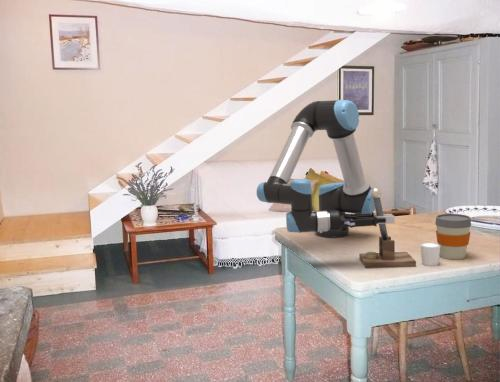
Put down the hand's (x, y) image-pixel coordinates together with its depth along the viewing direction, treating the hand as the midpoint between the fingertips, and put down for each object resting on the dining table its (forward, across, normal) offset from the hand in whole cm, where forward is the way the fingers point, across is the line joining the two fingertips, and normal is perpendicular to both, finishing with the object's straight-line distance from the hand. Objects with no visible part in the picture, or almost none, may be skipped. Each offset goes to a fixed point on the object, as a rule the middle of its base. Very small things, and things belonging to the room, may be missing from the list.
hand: (393, 218), depth 192 cm
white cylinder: (+13, +3, -17) cm, 21 cm away
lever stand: (-2, 0, -16) cm, 17 cm away
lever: (-2, 0, -12) cm, 12 cm away
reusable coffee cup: (+24, -5, -17) cm, 29 cm away
